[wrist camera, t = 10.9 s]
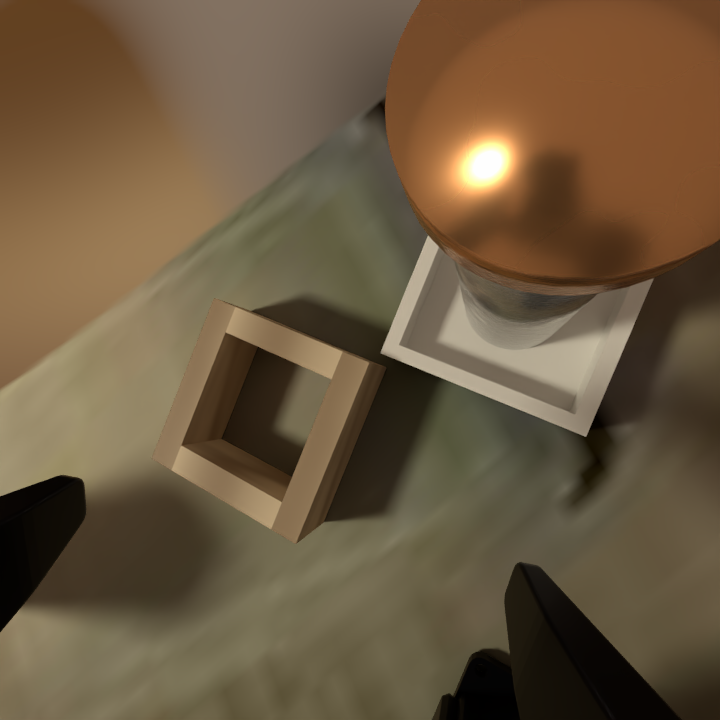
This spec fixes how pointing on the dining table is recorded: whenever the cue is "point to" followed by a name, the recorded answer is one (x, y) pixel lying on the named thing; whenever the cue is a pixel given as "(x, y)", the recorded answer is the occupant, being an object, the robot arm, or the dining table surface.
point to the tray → (513, 367)
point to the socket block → (217, 400)
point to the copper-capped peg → (557, 148)
